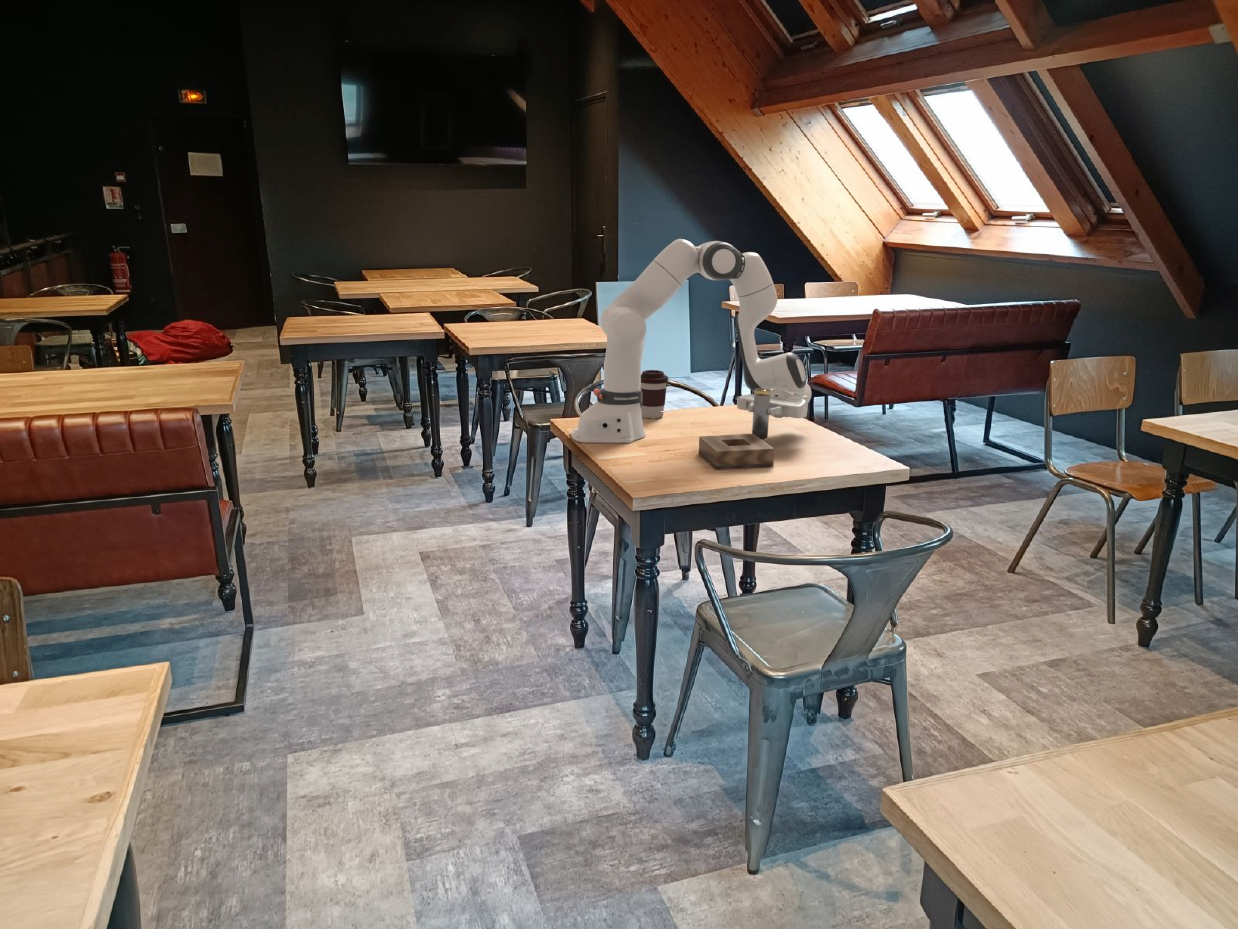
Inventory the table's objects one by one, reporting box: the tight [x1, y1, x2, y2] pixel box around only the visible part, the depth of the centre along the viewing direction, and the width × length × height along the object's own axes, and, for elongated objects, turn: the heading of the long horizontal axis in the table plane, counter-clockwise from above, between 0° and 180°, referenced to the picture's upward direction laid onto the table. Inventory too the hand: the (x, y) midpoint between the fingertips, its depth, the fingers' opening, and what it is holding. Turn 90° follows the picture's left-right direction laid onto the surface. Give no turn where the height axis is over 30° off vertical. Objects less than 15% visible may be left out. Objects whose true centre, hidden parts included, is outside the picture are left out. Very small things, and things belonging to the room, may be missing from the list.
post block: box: [698, 433, 775, 471], centre depth 244 cm, size 16×16×5 cm
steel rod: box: [751, 388, 772, 441], centre depth 254 cm, size 5×5×14 cm
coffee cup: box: [641, 369, 669, 419], centre depth 291 cm, size 10×10×15 cm
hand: (760, 410), depth 253 cm, fingers closed on steel rod, 4 cm apart
